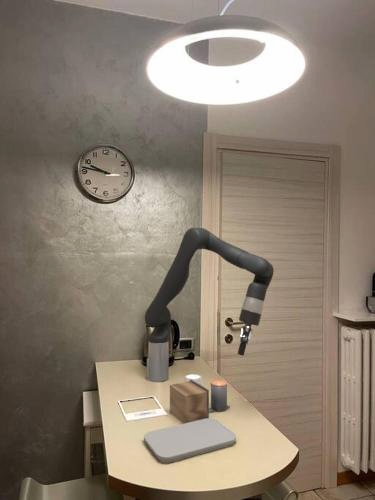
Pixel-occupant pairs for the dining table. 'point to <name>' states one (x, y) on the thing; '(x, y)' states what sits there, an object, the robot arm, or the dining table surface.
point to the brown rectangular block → (190, 402)
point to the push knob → (218, 394)
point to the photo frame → (143, 412)
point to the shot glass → (193, 378)
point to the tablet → (188, 439)
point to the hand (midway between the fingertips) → (240, 354)
